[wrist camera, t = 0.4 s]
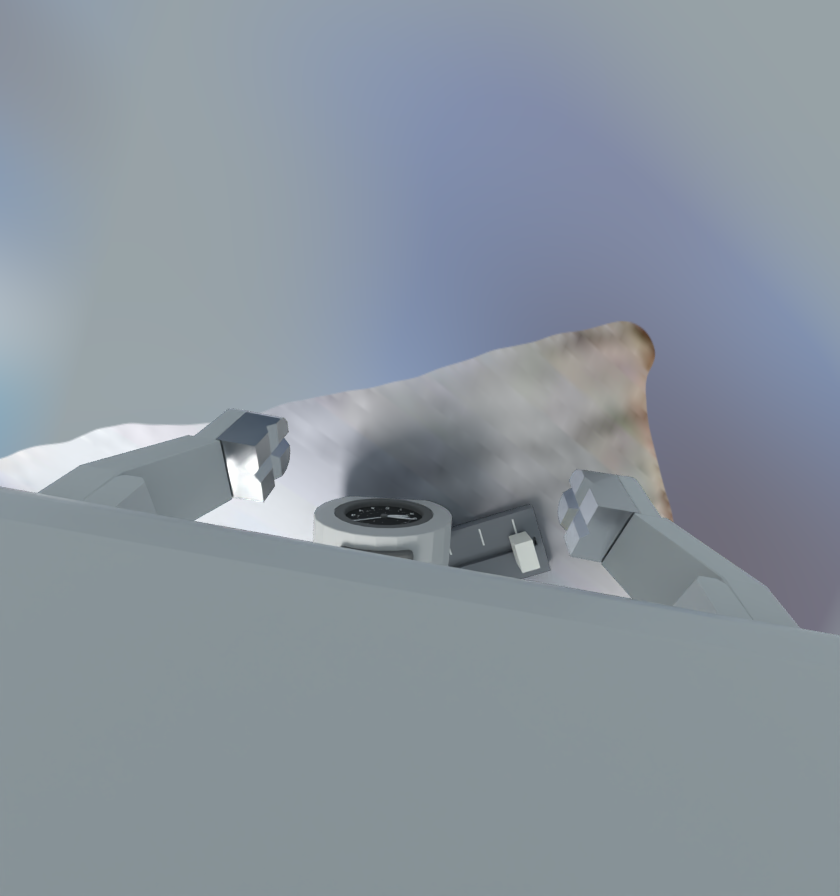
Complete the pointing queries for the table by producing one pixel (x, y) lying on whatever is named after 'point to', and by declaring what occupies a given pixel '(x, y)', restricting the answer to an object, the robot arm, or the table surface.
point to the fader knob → (524, 552)
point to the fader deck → (496, 543)
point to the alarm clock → (386, 527)
